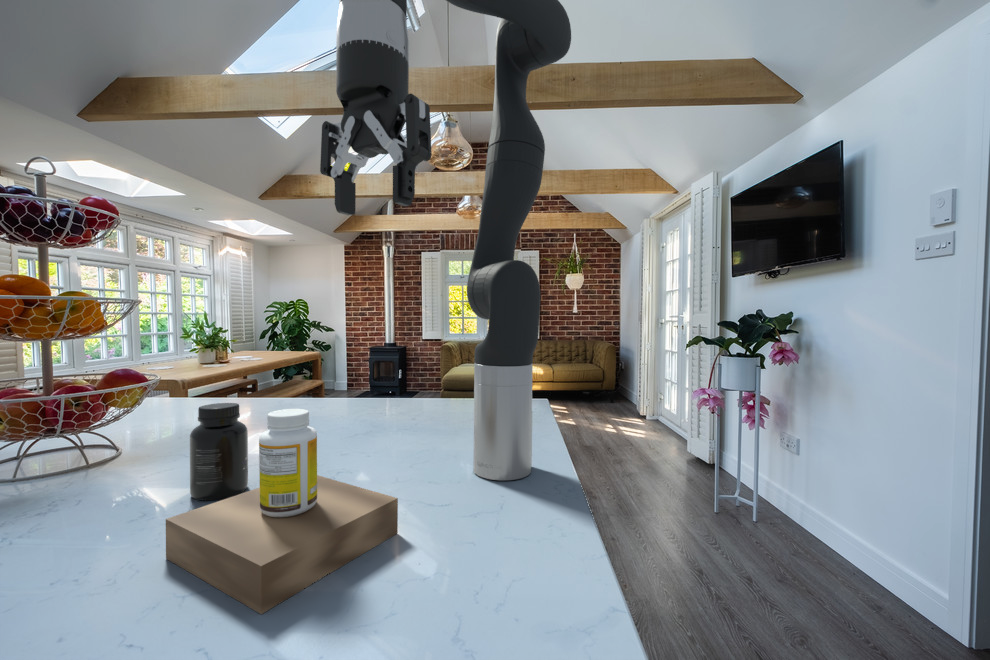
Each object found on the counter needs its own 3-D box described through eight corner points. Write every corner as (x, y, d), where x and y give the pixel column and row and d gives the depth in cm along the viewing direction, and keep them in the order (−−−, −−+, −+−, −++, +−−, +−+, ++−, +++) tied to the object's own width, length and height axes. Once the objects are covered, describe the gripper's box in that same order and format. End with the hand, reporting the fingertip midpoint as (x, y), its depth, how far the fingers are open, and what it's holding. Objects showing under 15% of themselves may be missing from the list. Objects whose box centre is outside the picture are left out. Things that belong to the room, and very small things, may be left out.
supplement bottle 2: (302, 493, 51) (301, 404, 51) (327, 507, 47) (327, 411, 47) (250, 509, 47) (249, 412, 46) (273, 525, 43) (273, 420, 43)
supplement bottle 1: (259, 487, 63) (258, 403, 62) (210, 505, 57) (210, 412, 56) (227, 479, 66) (227, 399, 65) (178, 496, 59) (177, 407, 59)
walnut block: (306, 502, 58) (305, 471, 58) (397, 533, 50) (397, 498, 50) (165, 558, 44) (165, 519, 44) (261, 614, 36) (261, 566, 36)
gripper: (447, 57, 47) (446, 209, 48) (354, 90, 55) (353, 222, 55) (398, 15, 41) (397, 192, 41) (300, 59, 48) (300, 209, 49)
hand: (372, 209), depth 48 cm, fingers open, 8 cm apart
